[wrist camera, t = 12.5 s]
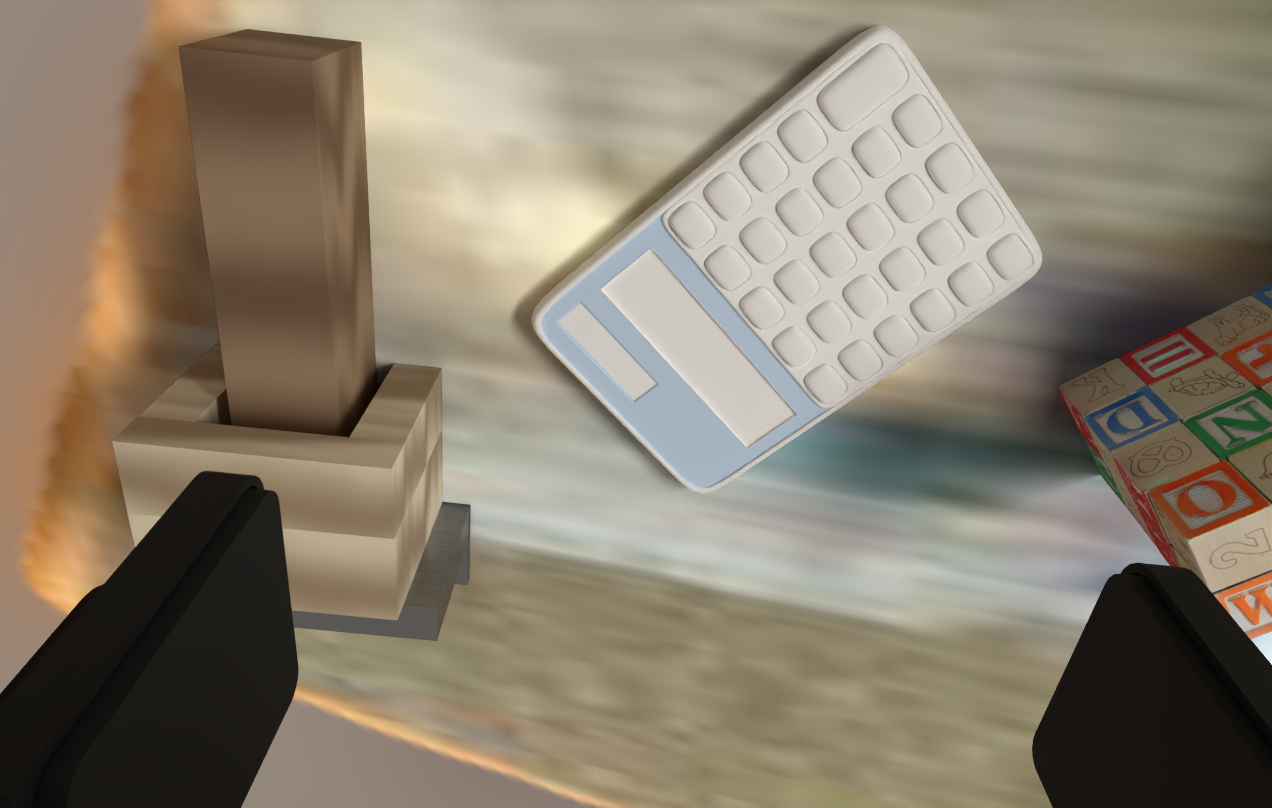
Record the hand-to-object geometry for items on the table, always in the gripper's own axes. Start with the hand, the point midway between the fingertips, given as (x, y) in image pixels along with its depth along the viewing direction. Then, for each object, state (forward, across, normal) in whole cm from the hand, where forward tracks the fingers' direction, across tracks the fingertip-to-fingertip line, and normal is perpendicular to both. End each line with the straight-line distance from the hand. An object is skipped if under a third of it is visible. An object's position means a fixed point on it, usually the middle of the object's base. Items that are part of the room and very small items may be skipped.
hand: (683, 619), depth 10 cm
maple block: (+30, +15, +17) cm, 38 cm away
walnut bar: (+31, +15, +8) cm, 35 cm away
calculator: (+31, -6, +7) cm, 32 cm away
